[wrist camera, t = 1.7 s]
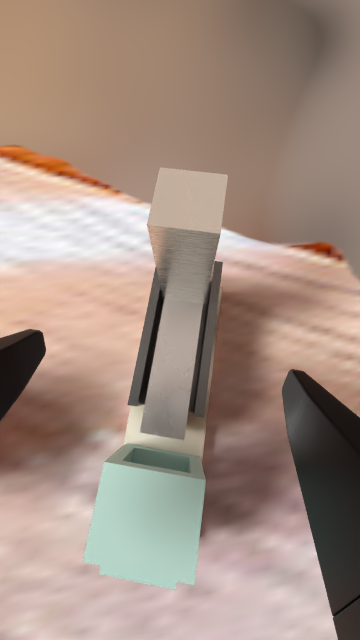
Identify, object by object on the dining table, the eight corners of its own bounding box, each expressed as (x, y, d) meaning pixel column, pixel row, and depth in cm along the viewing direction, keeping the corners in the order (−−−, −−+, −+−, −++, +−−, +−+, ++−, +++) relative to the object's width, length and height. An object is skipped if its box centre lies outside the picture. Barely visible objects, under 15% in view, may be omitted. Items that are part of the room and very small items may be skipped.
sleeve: (162, 278, 23) (158, 253, 19) (215, 286, 22) (222, 262, 18) (139, 402, 20) (127, 404, 16) (199, 412, 19) (203, 417, 15)
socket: (126, 443, 19) (104, 461, 14) (199, 456, 19) (205, 480, 13) (109, 526, 17) (78, 582, 12) (189, 542, 17) (192, 605, 12)
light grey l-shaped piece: (171, 277, 21) (160, 167, 11) (206, 281, 21) (228, 174, 11) (144, 426, 18) (90, 470, 8) (185, 434, 18) (187, 488, 8)
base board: (157, 282, 24) (156, 277, 23) (220, 291, 23) (222, 286, 22) (110, 522, 18) (106, 529, 17) (191, 537, 18) (192, 546, 17)
